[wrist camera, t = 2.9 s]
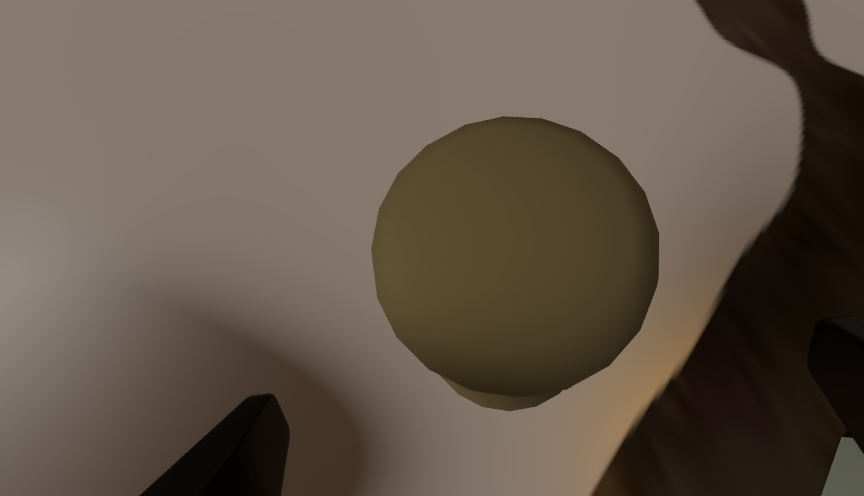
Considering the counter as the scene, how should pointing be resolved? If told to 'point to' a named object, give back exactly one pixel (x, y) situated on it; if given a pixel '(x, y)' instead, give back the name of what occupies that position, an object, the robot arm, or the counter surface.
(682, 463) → the counter surface
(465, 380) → the cork
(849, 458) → the end cap socket
